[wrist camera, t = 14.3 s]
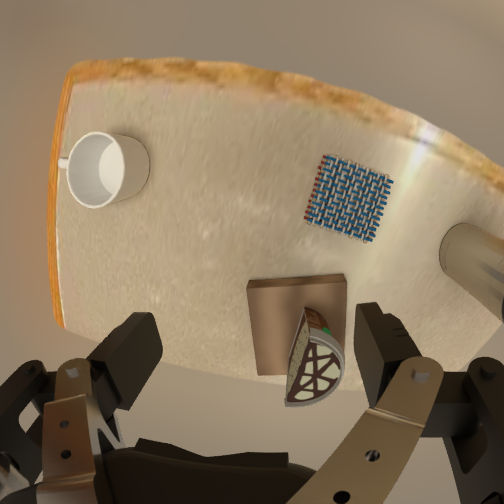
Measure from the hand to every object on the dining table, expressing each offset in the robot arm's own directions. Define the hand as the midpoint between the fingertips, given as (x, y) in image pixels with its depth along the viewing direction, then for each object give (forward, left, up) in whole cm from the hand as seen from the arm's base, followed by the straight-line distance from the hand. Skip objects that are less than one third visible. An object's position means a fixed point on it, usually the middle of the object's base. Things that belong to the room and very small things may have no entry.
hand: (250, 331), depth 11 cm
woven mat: (-10, -1, -31) cm, 32 cm away
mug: (+24, -10, -30) cm, 40 cm away
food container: (-4, +19, -27) cm, 33 cm away
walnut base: (-2, +18, -30) cm, 35 cm away
